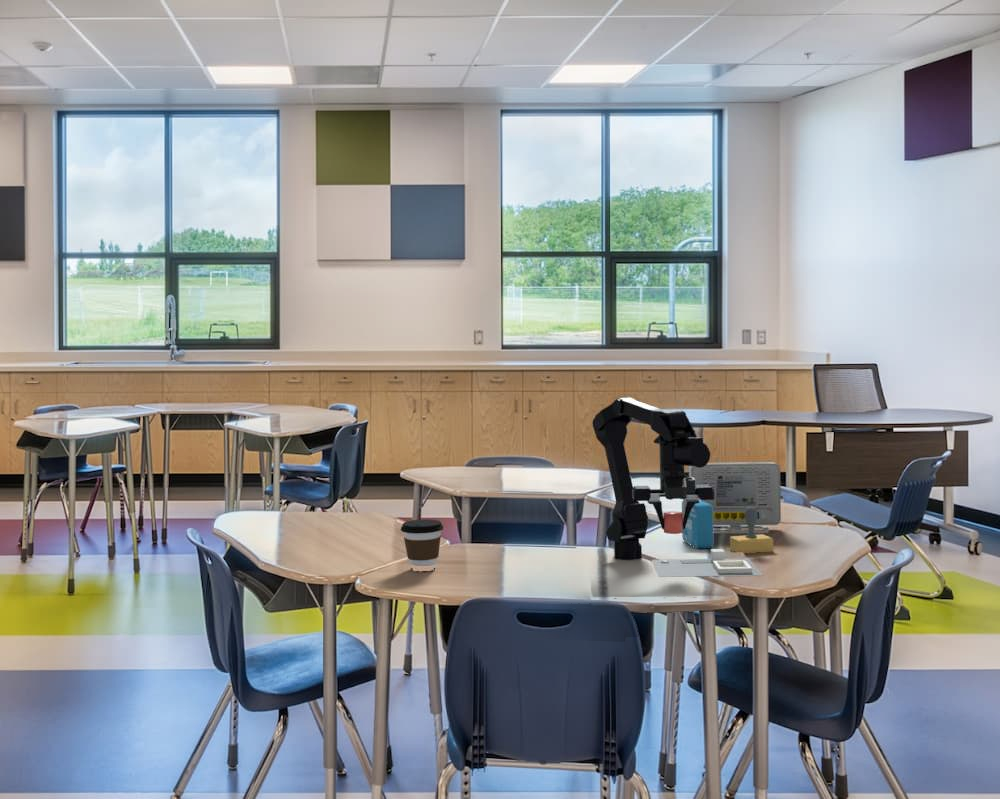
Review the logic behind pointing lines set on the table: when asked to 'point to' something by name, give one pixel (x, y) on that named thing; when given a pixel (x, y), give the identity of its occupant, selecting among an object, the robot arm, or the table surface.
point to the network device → (742, 493)
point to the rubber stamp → (751, 537)
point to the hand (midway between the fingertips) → (673, 528)
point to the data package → (699, 526)
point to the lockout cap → (673, 522)
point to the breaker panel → (705, 567)
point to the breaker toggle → (717, 555)
